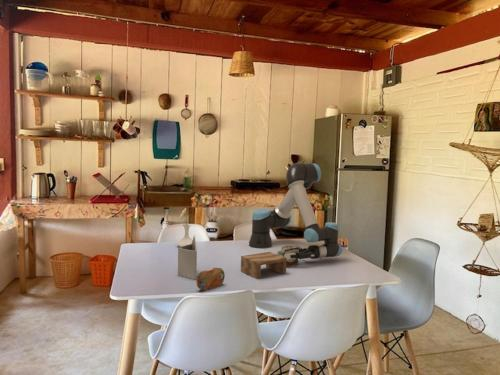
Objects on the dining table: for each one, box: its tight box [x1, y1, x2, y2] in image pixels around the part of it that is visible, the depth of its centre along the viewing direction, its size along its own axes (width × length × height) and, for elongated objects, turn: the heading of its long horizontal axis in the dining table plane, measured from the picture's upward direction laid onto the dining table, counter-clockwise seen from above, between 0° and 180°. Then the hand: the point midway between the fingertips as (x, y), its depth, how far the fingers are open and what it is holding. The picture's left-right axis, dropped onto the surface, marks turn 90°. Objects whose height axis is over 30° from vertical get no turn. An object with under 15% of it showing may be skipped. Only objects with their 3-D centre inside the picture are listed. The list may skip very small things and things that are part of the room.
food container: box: [280, 244, 300, 268], centre depth 217 cm, size 12×6×10 cm, turn 131°
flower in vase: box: [177, 208, 193, 247], centre depth 250 cm, size 13×11×25 cm
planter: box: [177, 235, 198, 280], centre depth 194 cm, size 16×8×19 cm, turn 15°
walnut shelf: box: [240, 251, 287, 280], centre depth 202 cm, size 14×18×8 cm
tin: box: [195, 267, 226, 291], centre depth 177 cm, size 15×3×8 cm, turn 138°
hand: (280, 255), depth 214 cm, fingers closed on food container, 7 cm apart
